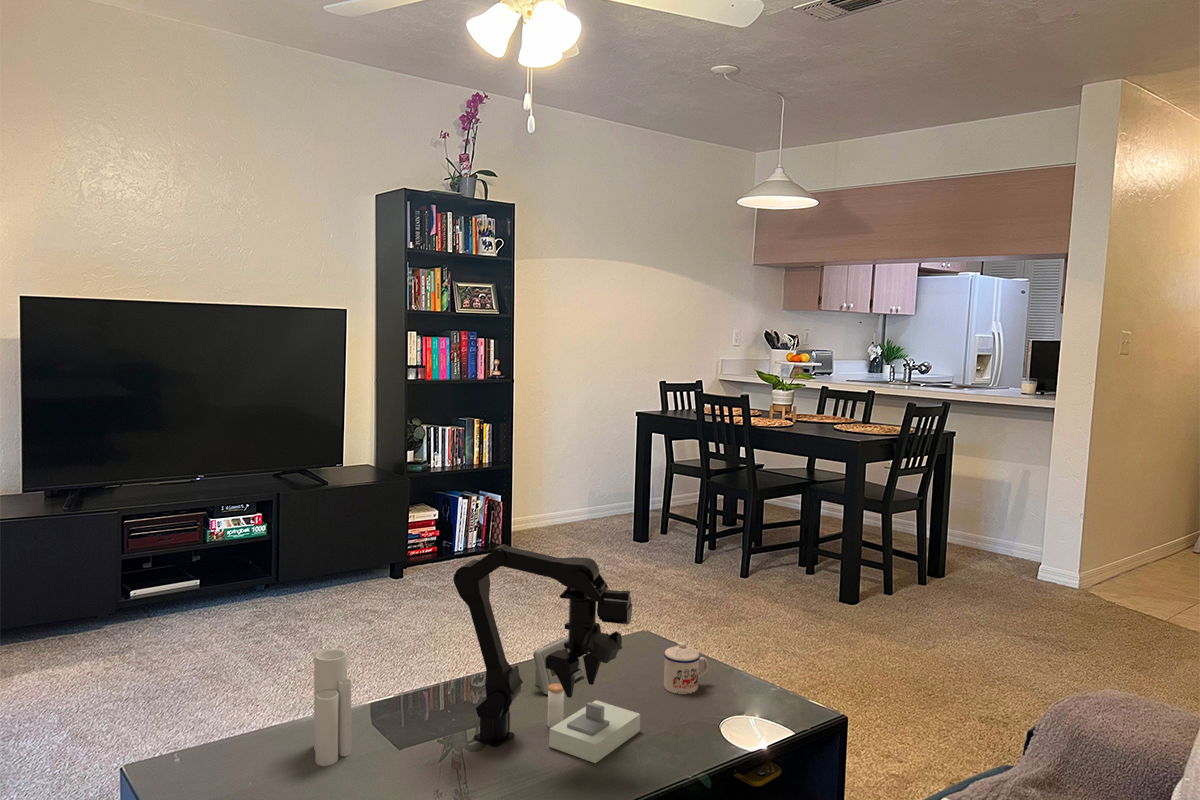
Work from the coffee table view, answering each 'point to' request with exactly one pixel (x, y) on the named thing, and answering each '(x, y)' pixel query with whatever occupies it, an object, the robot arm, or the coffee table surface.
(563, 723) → the socket block
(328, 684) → the vase
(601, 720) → the shutter
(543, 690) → the digital clock
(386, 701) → the coffee table surface
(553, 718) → the plug
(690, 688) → the teacup with lid
